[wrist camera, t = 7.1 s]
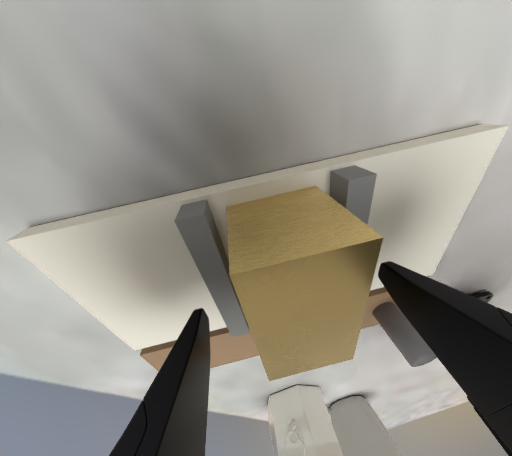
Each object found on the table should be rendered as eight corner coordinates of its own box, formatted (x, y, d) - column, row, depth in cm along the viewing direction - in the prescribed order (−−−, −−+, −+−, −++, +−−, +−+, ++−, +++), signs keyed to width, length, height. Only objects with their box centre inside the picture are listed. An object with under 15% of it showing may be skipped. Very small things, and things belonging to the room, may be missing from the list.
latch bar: (316, 289, 13) (352, 358, 10) (256, 304, 13) (269, 381, 9) (316, 185, 9) (383, 237, 5) (226, 206, 9) (229, 275, 5)
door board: (479, 124, 10) (681, 133, 6) (402, 304, 19) (456, 362, 14) (29, 227, 9) (-147, 331, 5) (170, 364, 18) (154, 444, 14)
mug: (314, 409, 34) (344, 504, 26) (354, 389, 32) (402, 488, 23) (348, 413, 40) (381, 492, 32) (384, 396, 38) (430, 478, 29)
